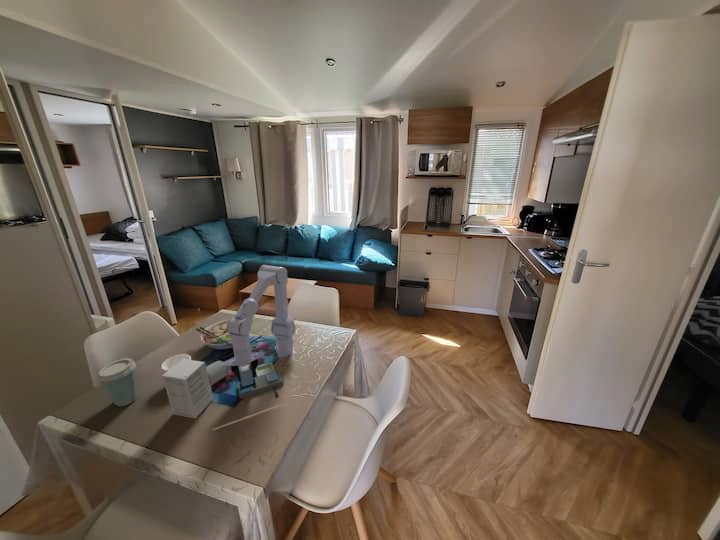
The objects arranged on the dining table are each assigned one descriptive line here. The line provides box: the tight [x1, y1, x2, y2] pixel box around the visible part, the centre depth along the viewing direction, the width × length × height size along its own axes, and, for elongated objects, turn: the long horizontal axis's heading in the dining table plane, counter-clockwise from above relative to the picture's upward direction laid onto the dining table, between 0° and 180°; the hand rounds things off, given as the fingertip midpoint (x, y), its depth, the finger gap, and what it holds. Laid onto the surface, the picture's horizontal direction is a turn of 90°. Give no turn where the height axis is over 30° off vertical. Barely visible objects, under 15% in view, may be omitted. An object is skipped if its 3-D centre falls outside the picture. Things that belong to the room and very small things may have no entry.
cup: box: [160, 353, 192, 374], centre depth 109 cm, size 10×10×9 cm
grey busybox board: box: [237, 369, 284, 400], centre depth 106 cm, size 12×16×3 cm
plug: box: [238, 363, 254, 388], centre depth 104 cm, size 4×4×6 cm
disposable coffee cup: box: [96, 357, 139, 407], centre depth 99 cm, size 11×11×15 cm
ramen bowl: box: [195, 318, 253, 350], centre depth 134 cm, size 25×23×8 cm
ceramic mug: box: [206, 360, 229, 387], centre depth 111 cm, size 11×8×8 cm
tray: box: [255, 361, 276, 377], centre depth 116 cm, size 7×7×2 cm
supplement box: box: [161, 359, 214, 419], centre depth 96 cm, size 10×9×17 cm
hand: (246, 378), depth 104 cm, fingers closed on plug, 4 cm apart
